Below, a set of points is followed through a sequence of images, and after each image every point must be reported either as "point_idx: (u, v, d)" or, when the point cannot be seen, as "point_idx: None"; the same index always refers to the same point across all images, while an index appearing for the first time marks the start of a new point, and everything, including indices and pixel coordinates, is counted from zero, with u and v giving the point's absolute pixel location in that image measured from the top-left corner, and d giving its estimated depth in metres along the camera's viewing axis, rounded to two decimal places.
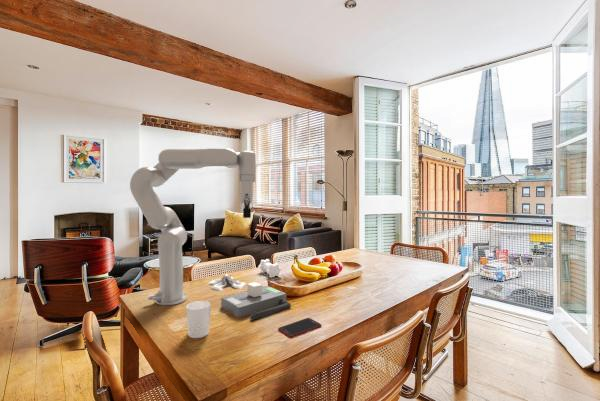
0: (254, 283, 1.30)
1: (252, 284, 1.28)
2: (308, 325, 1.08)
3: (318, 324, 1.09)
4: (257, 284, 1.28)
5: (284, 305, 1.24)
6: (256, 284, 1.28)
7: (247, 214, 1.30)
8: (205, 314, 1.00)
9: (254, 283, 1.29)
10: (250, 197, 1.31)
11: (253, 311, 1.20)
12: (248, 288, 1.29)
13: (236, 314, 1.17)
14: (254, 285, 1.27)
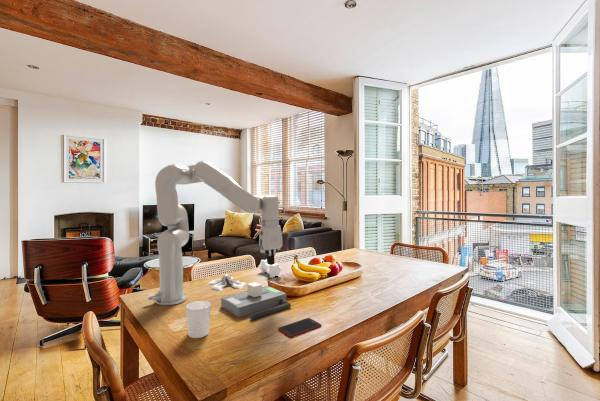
0: (254, 283, 1.30)
1: (252, 284, 1.28)
2: (308, 325, 1.08)
3: (318, 324, 1.09)
4: (257, 284, 1.28)
5: (284, 305, 1.24)
6: (256, 284, 1.28)
7: None
8: (205, 314, 1.00)
9: (254, 283, 1.29)
10: None
11: (253, 311, 1.20)
12: (248, 288, 1.29)
13: (236, 314, 1.17)
14: (254, 285, 1.27)
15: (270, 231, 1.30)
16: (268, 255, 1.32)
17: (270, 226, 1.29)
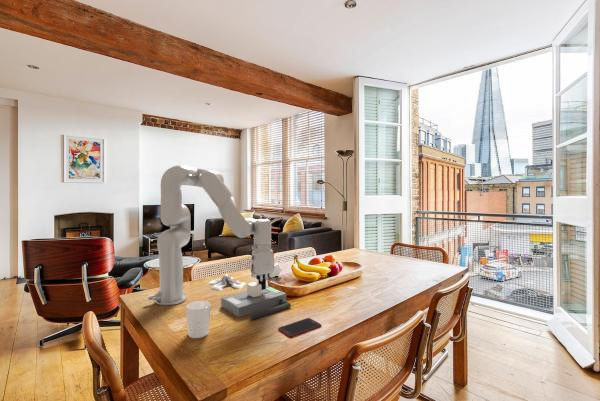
0: (254, 283, 1.30)
1: (252, 284, 1.28)
2: (308, 325, 1.08)
3: (318, 324, 1.09)
4: (257, 284, 1.28)
5: (284, 305, 1.24)
6: (256, 284, 1.28)
7: None
8: (205, 314, 1.00)
9: (253, 283, 1.29)
10: None
11: (253, 311, 1.20)
12: (248, 288, 1.28)
13: (236, 314, 1.17)
14: (254, 285, 1.27)
15: (262, 256, 1.28)
16: (259, 280, 1.30)
17: (262, 251, 1.27)
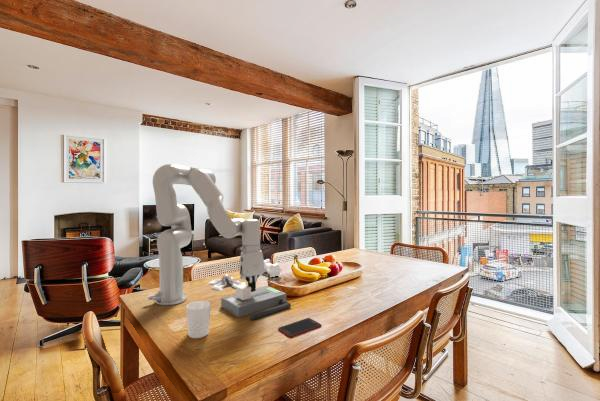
0: (243, 286, 1.26)
1: (241, 287, 1.25)
2: (308, 325, 1.08)
3: (318, 324, 1.09)
4: (246, 287, 1.25)
5: (284, 305, 1.24)
6: (245, 287, 1.25)
7: None
8: (205, 314, 1.00)
9: (243, 286, 1.26)
10: None
11: (253, 311, 1.20)
12: (237, 291, 1.25)
13: (236, 314, 1.17)
14: (243, 288, 1.23)
15: (251, 257, 1.24)
16: (249, 282, 1.26)
17: (251, 252, 1.23)
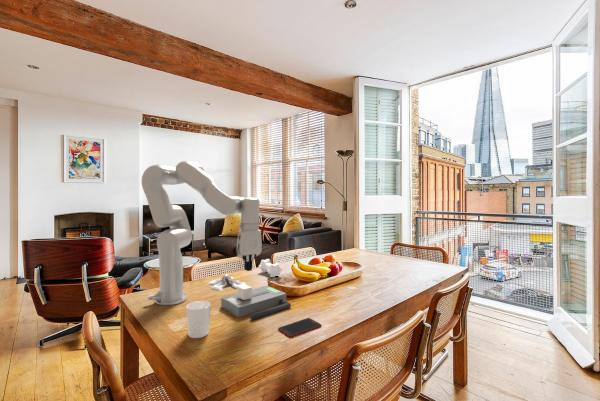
0: (244, 285, 1.26)
1: (242, 287, 1.25)
2: (308, 325, 1.08)
3: (318, 324, 1.09)
4: (247, 287, 1.25)
5: (284, 305, 1.24)
6: (246, 287, 1.25)
7: None
8: (205, 314, 1.00)
9: (244, 286, 1.26)
10: None
11: (253, 311, 1.20)
12: (238, 291, 1.25)
13: (236, 314, 1.17)
14: (244, 288, 1.24)
15: (249, 235, 1.23)
16: (245, 261, 1.25)
17: (249, 230, 1.22)
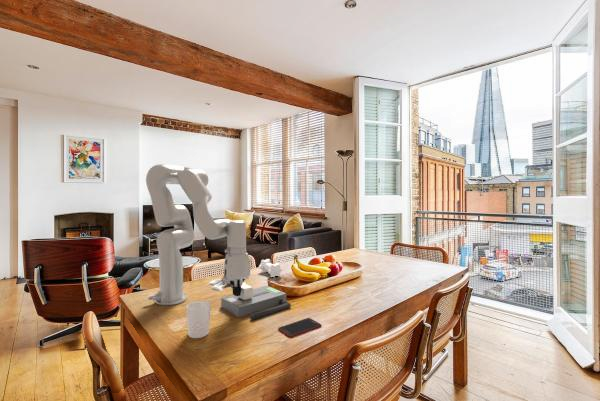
0: (245, 285, 1.27)
1: (243, 286, 1.25)
2: (308, 325, 1.08)
3: (318, 324, 1.09)
4: (248, 286, 1.25)
5: (284, 305, 1.24)
6: (247, 286, 1.25)
7: None
8: (205, 314, 1.00)
9: (244, 285, 1.26)
10: None
11: (253, 311, 1.20)
12: None
13: (236, 314, 1.17)
14: (245, 287, 1.24)
15: (236, 260, 1.19)
16: (233, 286, 1.21)
17: (235, 255, 1.18)
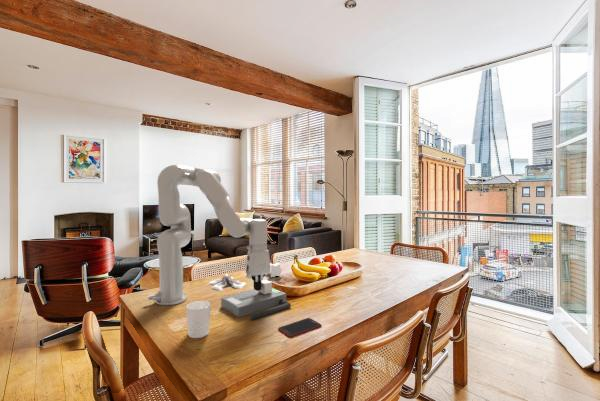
0: (264, 280, 1.33)
1: (262, 281, 1.32)
2: (308, 325, 1.08)
3: (318, 324, 1.09)
4: (267, 281, 1.32)
5: (284, 305, 1.24)
6: (266, 281, 1.32)
7: None
8: (205, 314, 1.00)
9: (264, 281, 1.33)
10: None
11: (253, 311, 1.20)
12: None
13: (236, 314, 1.17)
14: (264, 282, 1.31)
15: (258, 256, 1.26)
16: (255, 281, 1.28)
17: (257, 251, 1.25)
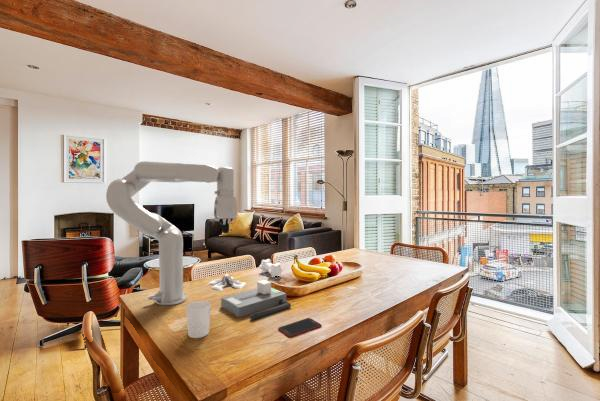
0: (263, 281, 1.33)
1: (262, 282, 1.32)
2: (308, 325, 1.08)
3: (318, 324, 1.09)
4: (266, 282, 1.32)
5: (284, 305, 1.24)
6: (266, 282, 1.32)
7: None
8: (205, 314, 1.00)
9: (263, 281, 1.33)
10: None
11: (253, 311, 1.20)
12: (258, 286, 1.32)
13: (236, 314, 1.17)
14: (264, 283, 1.30)
15: (224, 200, 1.37)
16: (222, 224, 1.39)
17: (224, 195, 1.36)
